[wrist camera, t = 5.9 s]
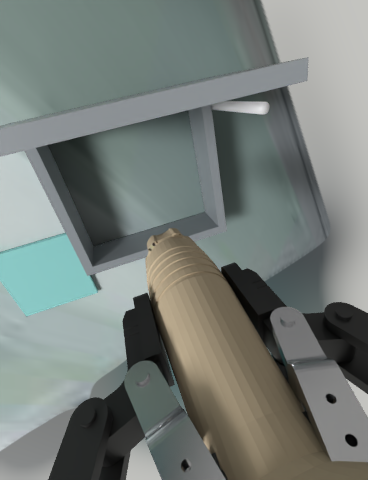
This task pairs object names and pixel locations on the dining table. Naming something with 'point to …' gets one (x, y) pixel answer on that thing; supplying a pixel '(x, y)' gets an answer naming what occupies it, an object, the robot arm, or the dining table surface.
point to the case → (133, 111)
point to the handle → (230, 372)
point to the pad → (44, 274)
